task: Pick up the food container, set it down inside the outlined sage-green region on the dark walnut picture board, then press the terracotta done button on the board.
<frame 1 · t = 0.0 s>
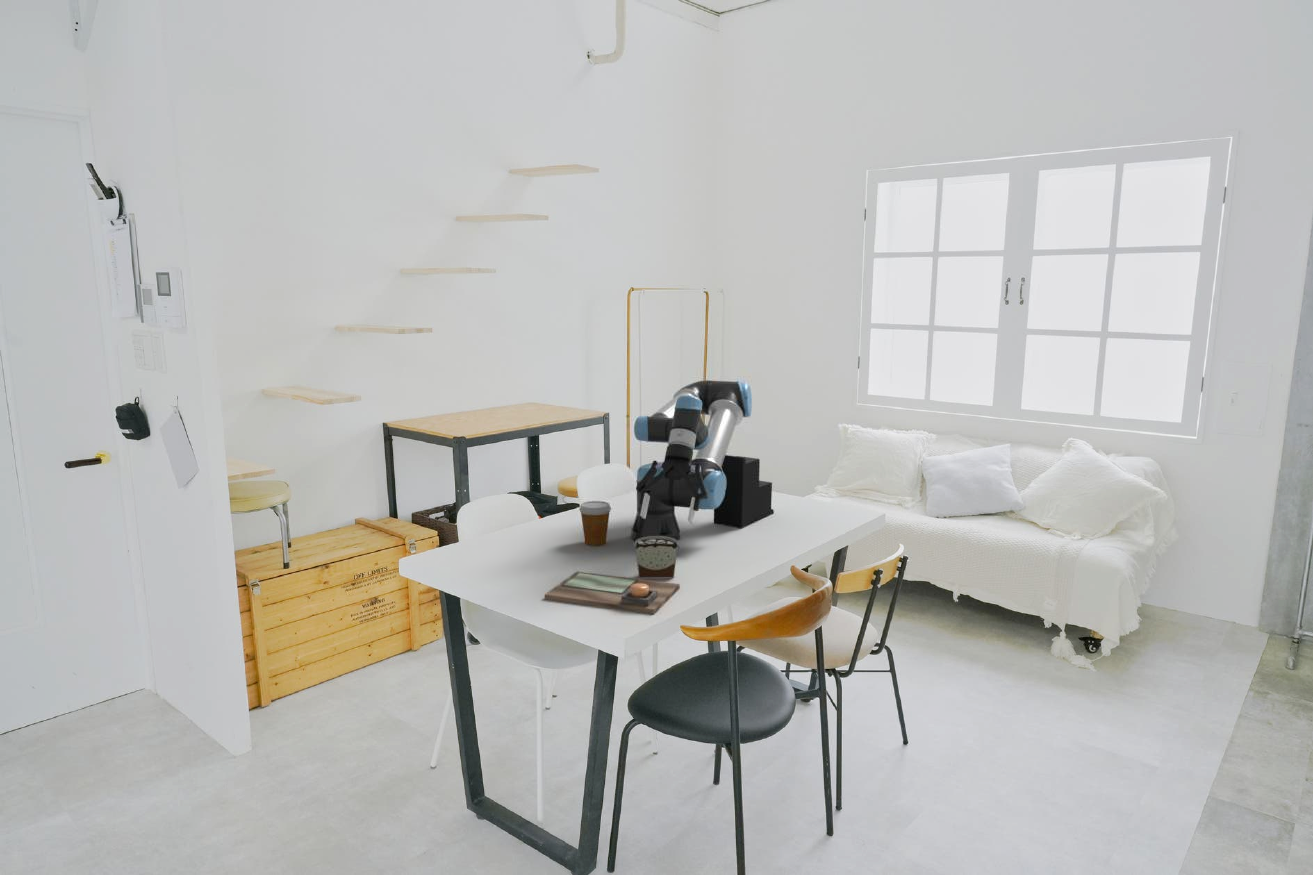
hand: (666, 519, 237), 14 cm above the table, tool tilted 35°, fingers open, 13 cm apart
black stepped block: (744, 519, 293), on the table, touching arm
disposable coffee cup: (595, 543, 265), on the table
done button: (639, 590, 213), point 4 cm above the table, slide at 0.0 cm
food container: (656, 575, 236), on the table
picture board: (613, 593, 221), on the table
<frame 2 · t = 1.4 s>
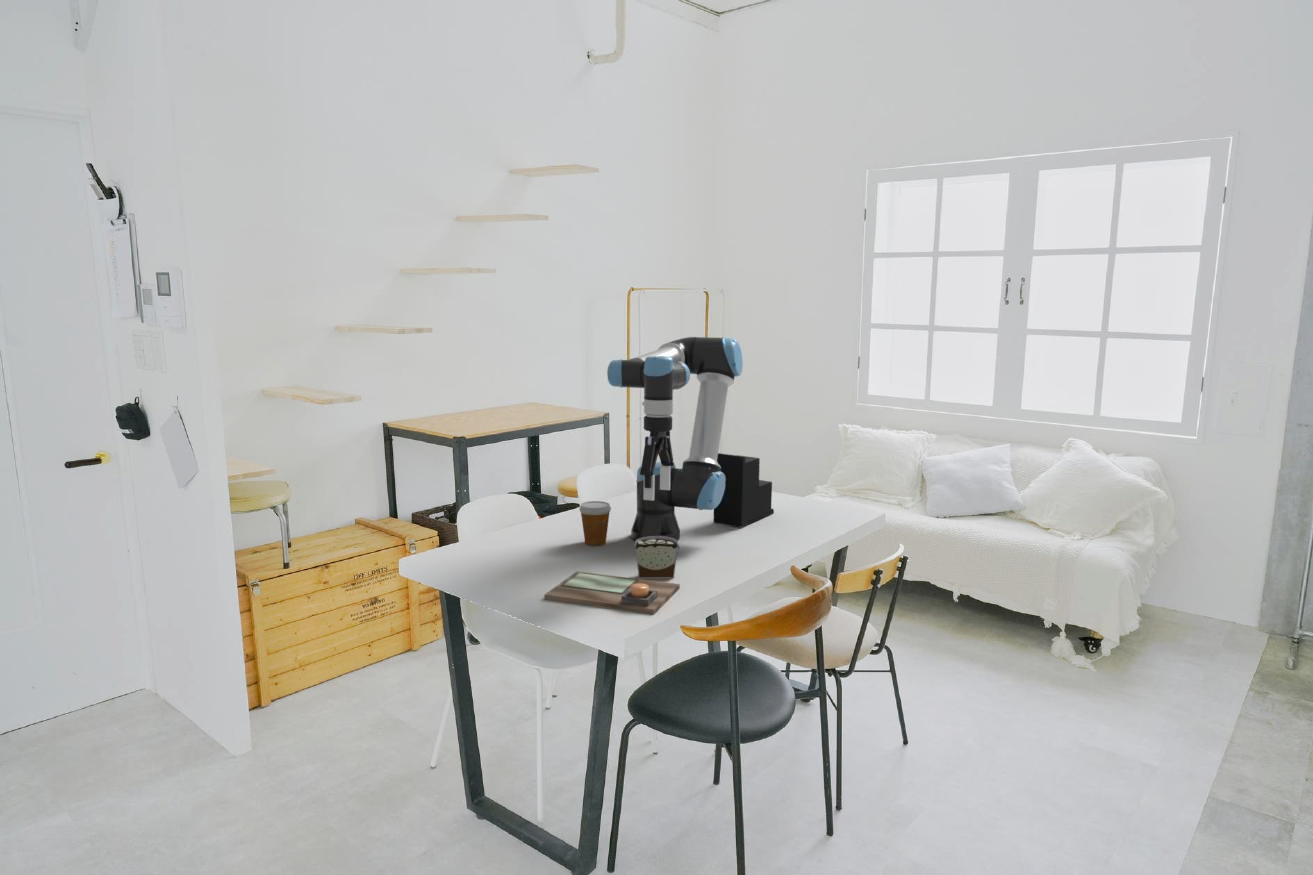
hand: (657, 494, 233), 22 cm above the table, tool pointing down, fingers open, 13 cm apart
black stepped block: (744, 519, 293), on the table
everything else where it was.
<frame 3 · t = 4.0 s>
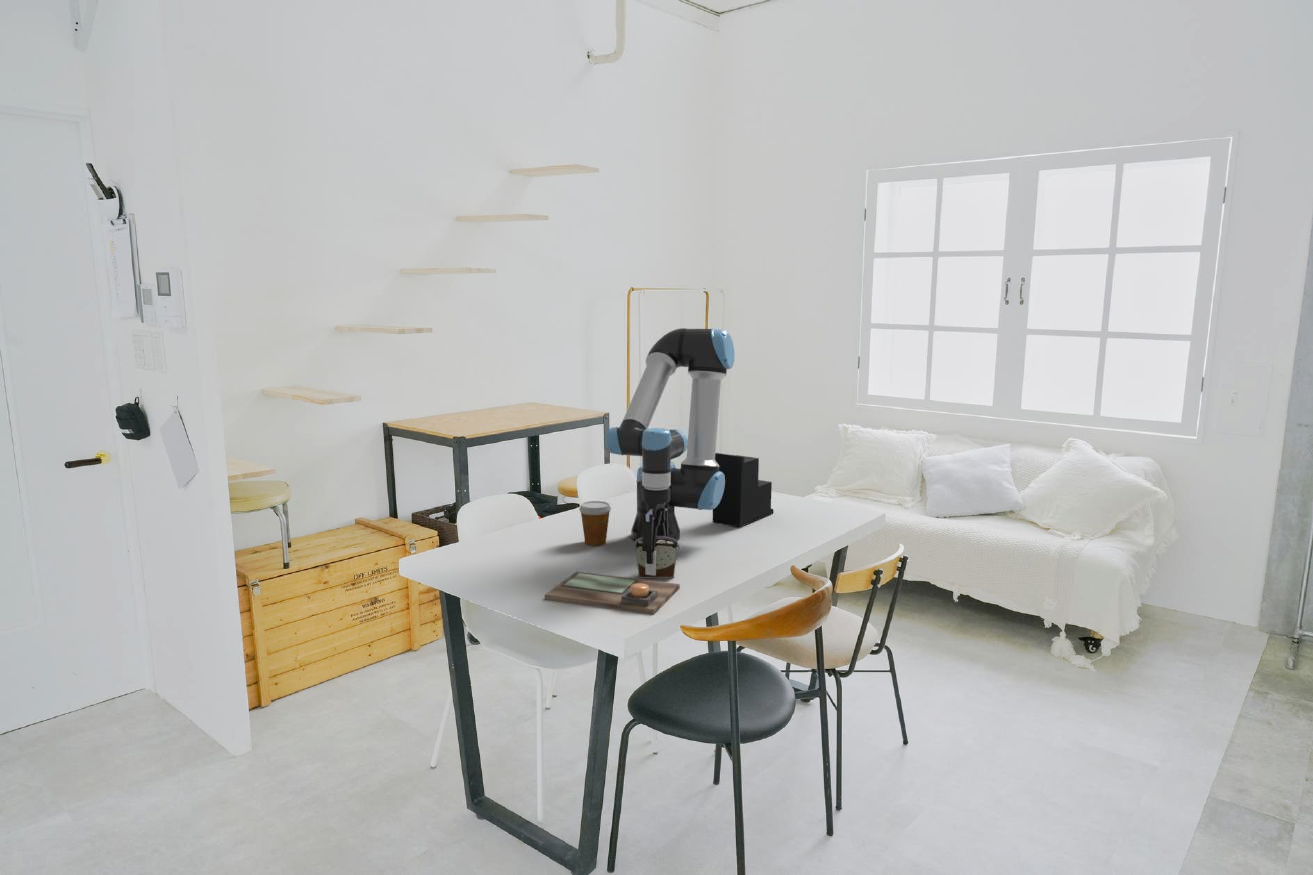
hand: (655, 570, 236), 1 cm above the table, tool pointing down, fingers closed on food container, 7 cm apart
food container: (656, 574, 236), on the table, touching gripper
everything else where it was.
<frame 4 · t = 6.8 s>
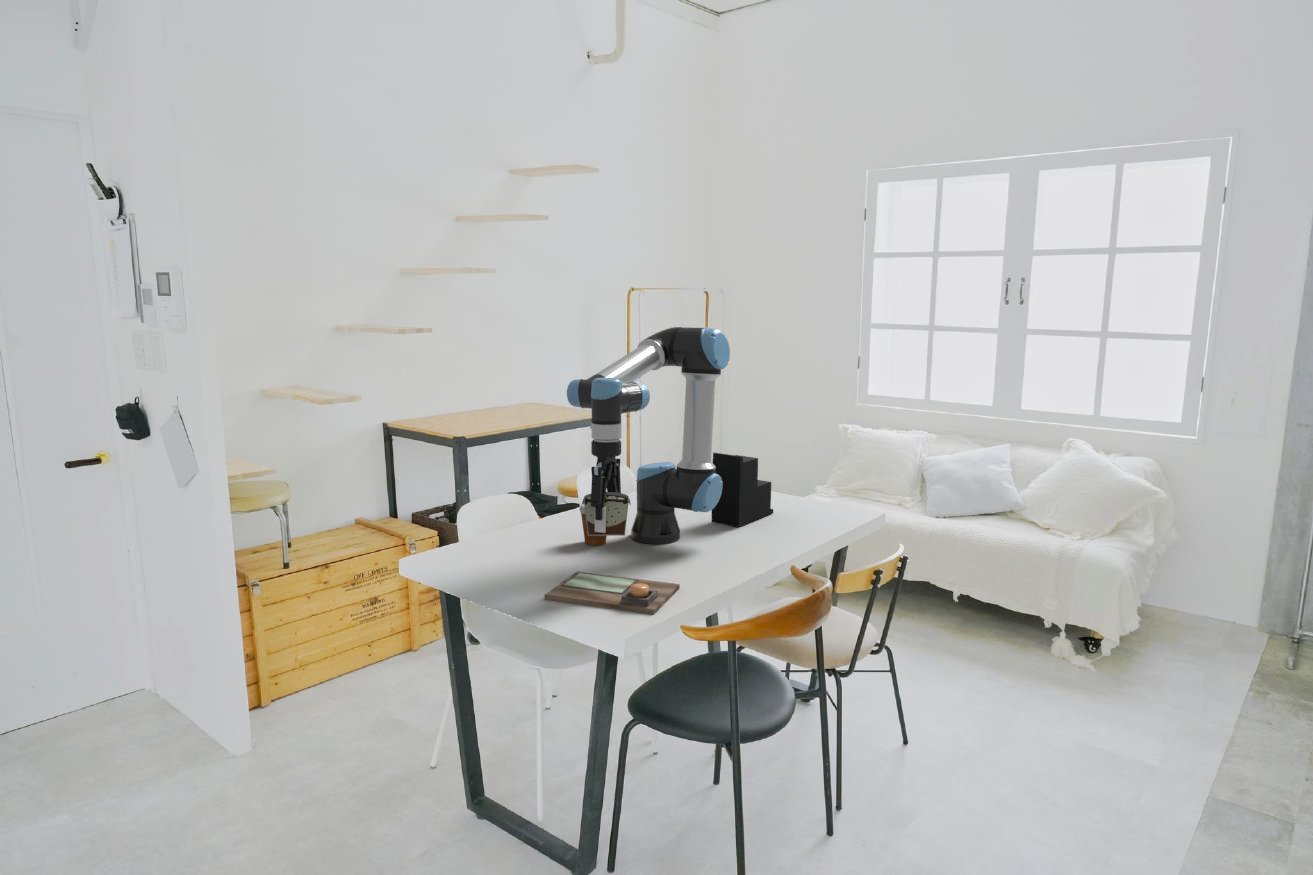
hand: (606, 527, 224), 16 cm above the table, tool pointing down, fingers closed on food container, 7 cm apart
food container: (606, 533, 224), point 14 cm above the table, touching gripper
everything else where it was.
when the fingers open (4 cm above the table, at t = 9.6 s): food container stays where it is, resting on picture board.
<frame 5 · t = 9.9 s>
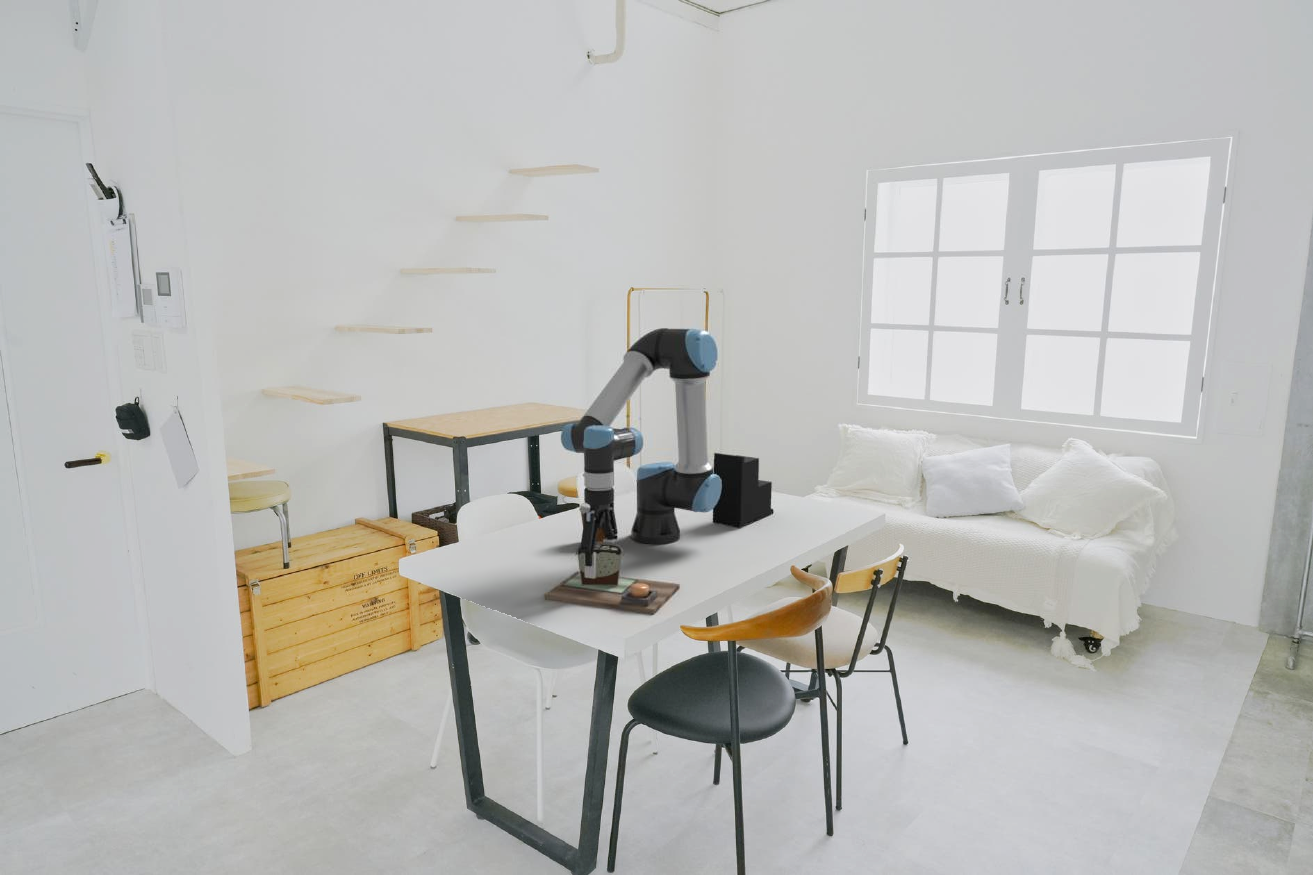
hand: (599, 570, 225), 5 cm above the table, tool pointing down, fingers open, 11 cm apart
food container: (600, 582, 226), point 1 cm above the table, touching picture board
everything else where it was.
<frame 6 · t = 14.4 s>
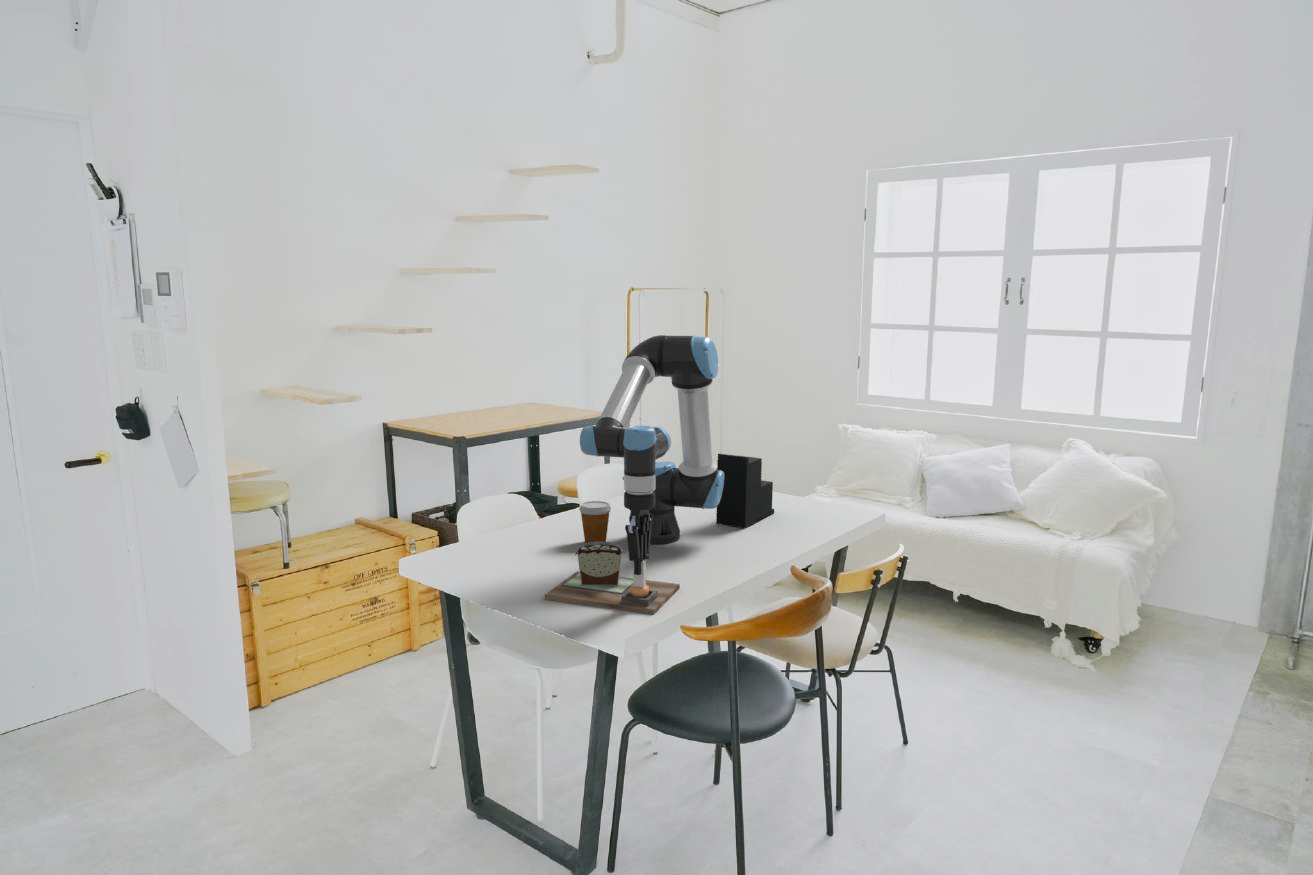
hand: (639, 585, 212), 5 cm above the table, tool pointing down, fingers closed
done button: (639, 590, 213), point 4 cm above the table, slide at 0.1 cm, touching gripper
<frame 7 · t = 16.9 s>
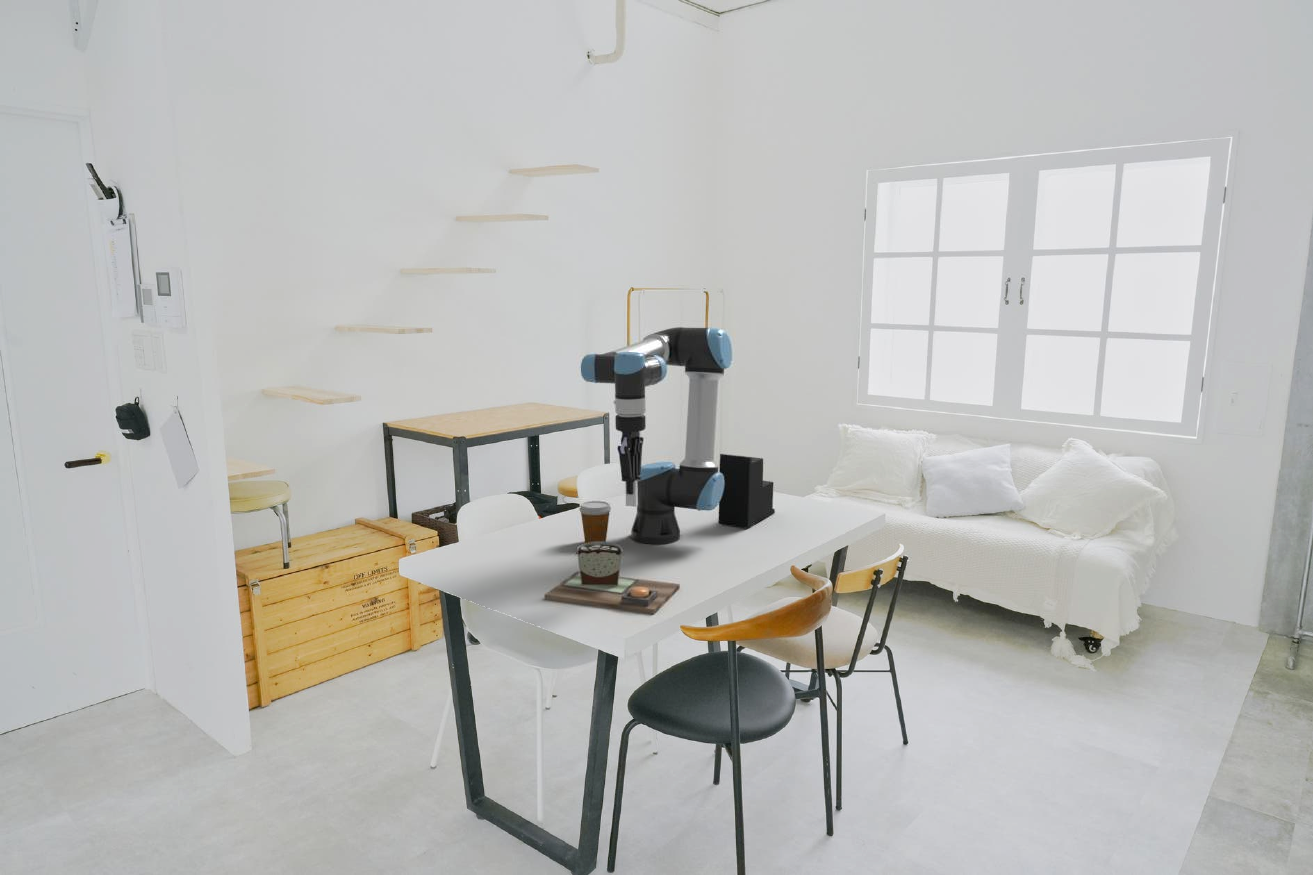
hand: (631, 505, 223), 21 cm above the table, tool pointing down, fingers closed
done button: (639, 593, 213), point 3 cm above the table, slide at 0.9 cm
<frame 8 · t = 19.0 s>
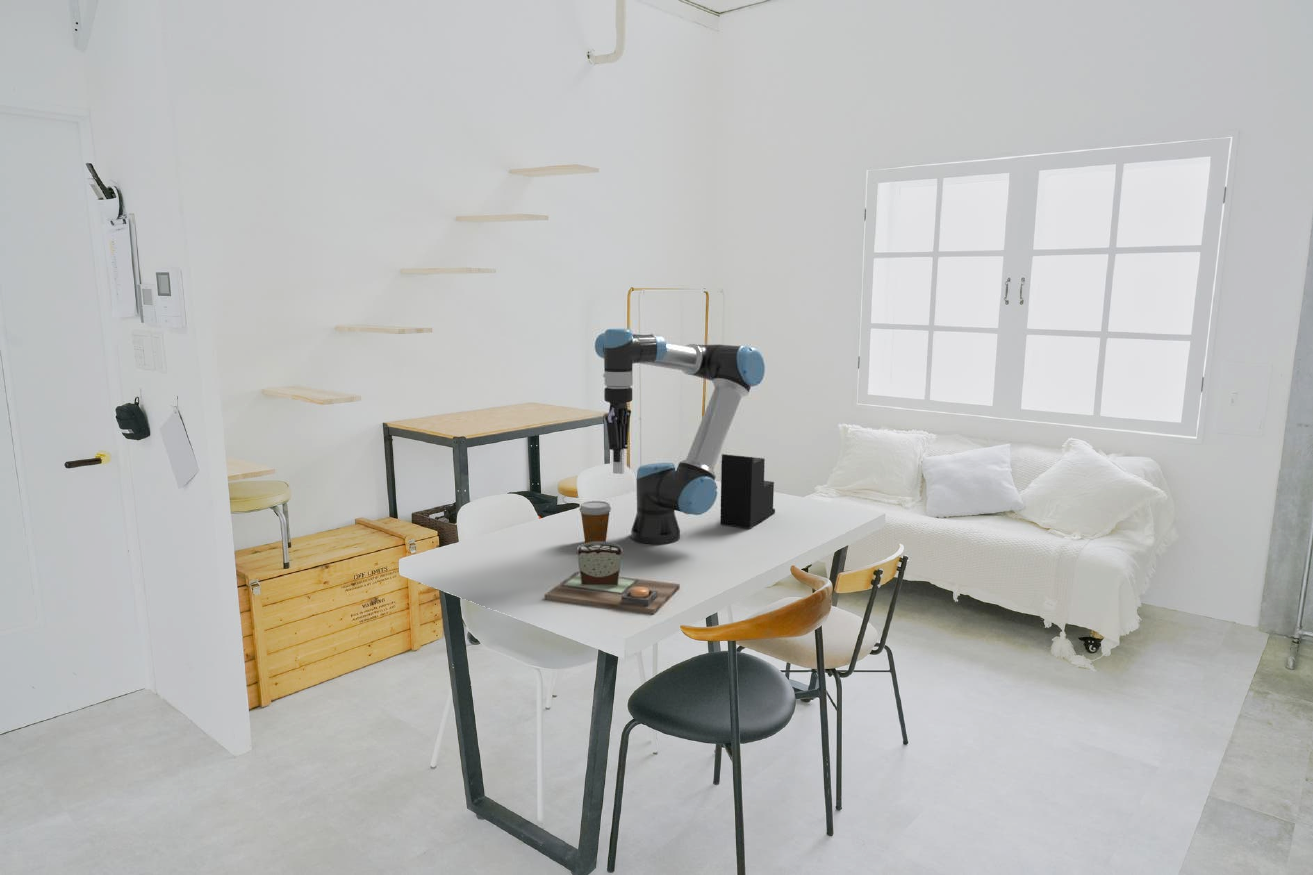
hand: (618, 472, 238), 26 cm above the table, tool pointing down, fingers closed
at the end: food container 0.7 cm from the target spot, point 1.2 cm above the table; food container tilted 0°; done button slide at 0.9 cm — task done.
